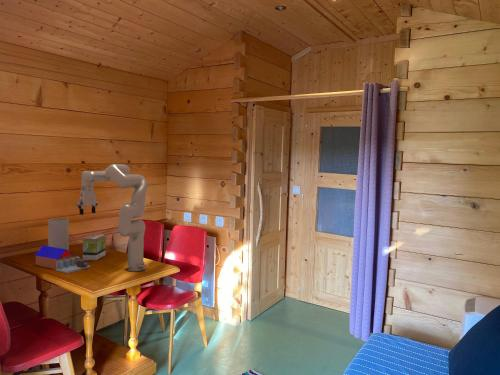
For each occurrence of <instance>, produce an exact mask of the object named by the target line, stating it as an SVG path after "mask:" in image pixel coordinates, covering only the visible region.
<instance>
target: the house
mask: <svg viewBox="0 0 500 375" xmlns="http://www.w3.org/2000/svg"><path fill="white" fill-rule="evenodd" d="M34 256H35V266H38V265H39V266H38V267H42V268H47V269H53V270H55V269H56V261H60V260H65V259H69V258H73V257H74V254H73V253H72V252H71V251H70V250H69V251H68V250H67V249H62V248H55V247H49V246H47V245H42V246H41V247H40V249H39V250H38V251H37V252H36V253H35V254H34Z"/></svg>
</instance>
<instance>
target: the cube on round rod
mask: <svg viewBox="0 0 500 375" xmlns="http://www.w3.org/2000/svg"><path fill="white" fill-rule="evenodd" d="M75 263H77V267H80V268H83V267H87V266H88V265H89V263H88V260H85V259H83V258H82V259H81V258H80V260H77V261H75Z"/></svg>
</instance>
